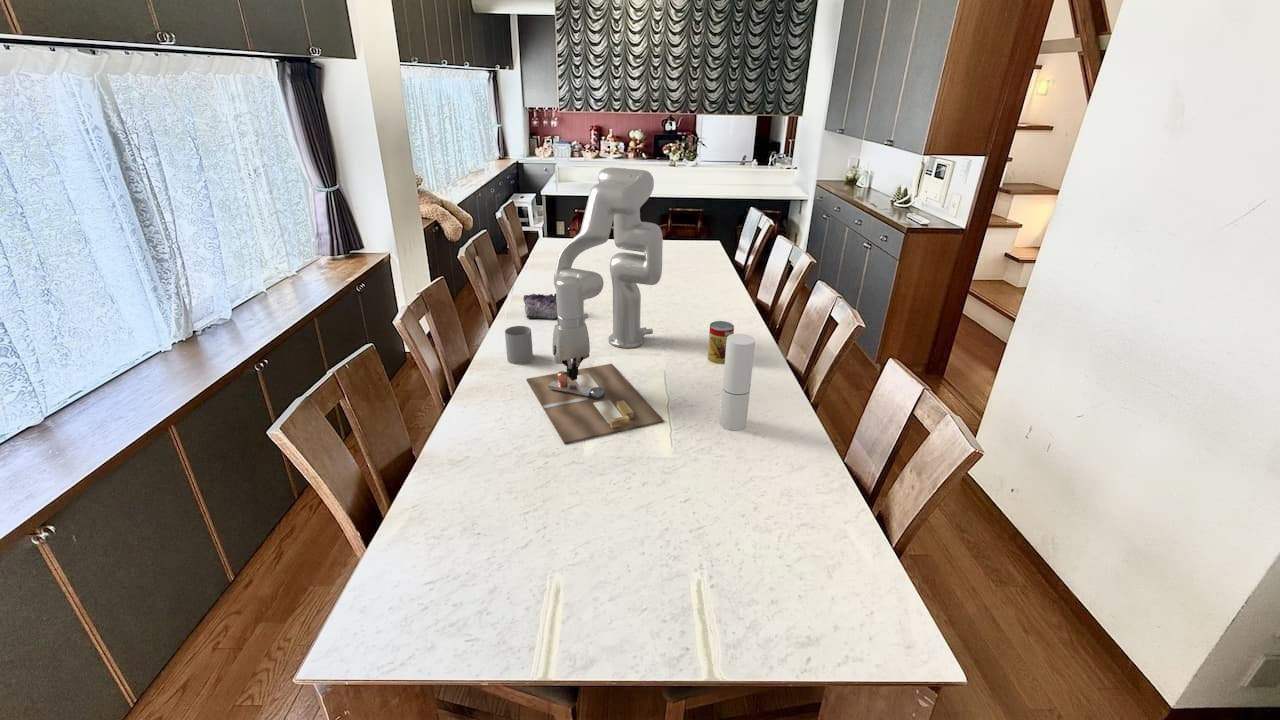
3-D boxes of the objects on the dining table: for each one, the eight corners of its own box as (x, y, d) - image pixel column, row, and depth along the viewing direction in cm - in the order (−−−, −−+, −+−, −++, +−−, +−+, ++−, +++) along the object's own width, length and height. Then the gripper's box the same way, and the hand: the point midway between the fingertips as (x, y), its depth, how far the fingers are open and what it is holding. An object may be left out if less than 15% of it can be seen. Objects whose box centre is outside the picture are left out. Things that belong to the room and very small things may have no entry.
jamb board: (611, 365, 194) (611, 357, 193) (663, 421, 163) (663, 413, 161) (526, 380, 183) (526, 372, 182) (564, 444, 152) (564, 435, 151)
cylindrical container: (748, 419, 164) (757, 335, 154) (743, 432, 158) (752, 346, 148) (722, 414, 166) (729, 331, 156) (717, 427, 160) (724, 342, 150)
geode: (576, 310, 239) (576, 287, 233) (573, 324, 229) (573, 301, 224) (525, 307, 239) (524, 284, 233) (520, 321, 229) (518, 298, 223)
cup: (527, 365, 193) (525, 336, 188) (503, 362, 194) (500, 334, 190) (536, 354, 200) (534, 327, 196) (513, 352, 202) (511, 324, 197)
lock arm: (606, 394, 174) (606, 377, 172) (601, 400, 171) (600, 383, 169) (553, 384, 179) (553, 368, 177) (547, 390, 176) (546, 373, 174)
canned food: (730, 365, 195) (733, 331, 190) (706, 362, 197) (708, 328, 192) (731, 355, 202) (734, 322, 197) (708, 352, 204) (711, 320, 199)
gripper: (589, 312, 176) (590, 368, 184) (541, 320, 169) (544, 378, 177) (600, 320, 170) (601, 378, 178) (551, 329, 163) (554, 389, 171)
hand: (572, 378), depth 177 cm, fingers closed
